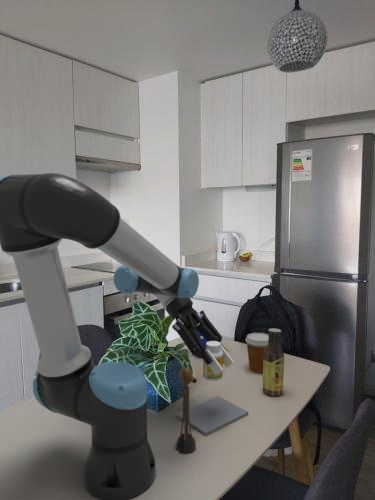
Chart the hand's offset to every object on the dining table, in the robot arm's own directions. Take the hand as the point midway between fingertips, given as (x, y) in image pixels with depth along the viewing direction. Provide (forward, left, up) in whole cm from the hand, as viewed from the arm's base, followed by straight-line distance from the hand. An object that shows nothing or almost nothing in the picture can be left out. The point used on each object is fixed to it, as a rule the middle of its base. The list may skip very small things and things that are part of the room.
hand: (225, 368), depth 106 cm
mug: (+29, +38, -15) cm, 50 cm away
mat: (-1, +3, -14) cm, 15 cm away
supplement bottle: (-1, +4, -4) cm, 5 cm away
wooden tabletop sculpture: (-16, -4, -15) cm, 22 cm away
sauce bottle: (+23, +1, -15) cm, 27 cm away
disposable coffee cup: (+33, +15, -15) cm, 39 cm away
